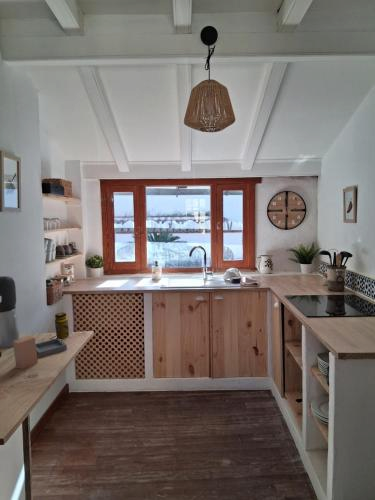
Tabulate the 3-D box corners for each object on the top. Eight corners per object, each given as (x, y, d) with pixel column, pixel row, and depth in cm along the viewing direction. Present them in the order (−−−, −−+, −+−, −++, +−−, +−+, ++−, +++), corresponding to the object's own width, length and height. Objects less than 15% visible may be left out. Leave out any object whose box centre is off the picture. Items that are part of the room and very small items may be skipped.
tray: (32, 349, 170) (32, 344, 170) (58, 342, 177) (58, 337, 177) (39, 357, 160) (38, 352, 160) (66, 349, 167) (66, 345, 167)
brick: (16, 366, 152) (12, 341, 151) (32, 360, 158) (29, 335, 156) (21, 369, 149) (18, 343, 148) (37, 362, 155) (34, 337, 153)
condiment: (72, 336, 184) (70, 313, 182) (56, 341, 178) (53, 317, 176) (65, 333, 189) (63, 310, 187) (49, 338, 183) (47, 315, 182)
